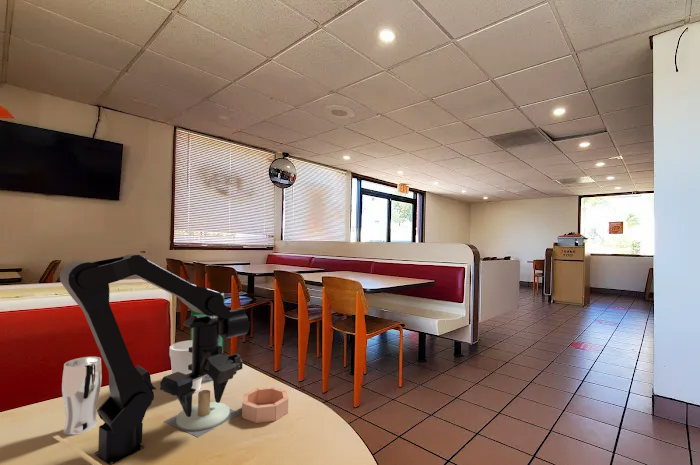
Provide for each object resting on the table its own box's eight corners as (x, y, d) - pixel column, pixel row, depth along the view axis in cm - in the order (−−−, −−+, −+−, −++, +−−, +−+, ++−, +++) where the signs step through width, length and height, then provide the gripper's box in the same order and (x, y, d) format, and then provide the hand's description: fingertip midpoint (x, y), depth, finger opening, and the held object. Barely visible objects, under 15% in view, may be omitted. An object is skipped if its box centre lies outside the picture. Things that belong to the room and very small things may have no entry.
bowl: (265, 429, 78) (266, 411, 78) (232, 416, 84) (232, 399, 84) (296, 409, 88) (296, 393, 88) (264, 398, 93) (264, 383, 93)
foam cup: (212, 386, 100) (213, 341, 100) (194, 401, 91) (196, 351, 91) (180, 384, 101) (182, 339, 101) (160, 398, 92) (162, 349, 92)
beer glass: (106, 427, 78) (108, 360, 78) (68, 442, 72) (71, 369, 72) (91, 418, 81) (93, 354, 82) (54, 432, 75) (56, 363, 76)
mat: (197, 439, 74) (197, 437, 74) (163, 423, 80) (163, 421, 80) (241, 415, 84) (241, 413, 84) (208, 402, 90) (208, 400, 90)
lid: (198, 436, 74) (198, 409, 74) (165, 421, 80) (166, 395, 80) (239, 413, 84) (240, 389, 84) (208, 400, 90) (208, 378, 90)
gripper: (192, 361, 70) (190, 439, 70) (259, 338, 86) (257, 402, 86) (159, 351, 76) (157, 423, 75) (228, 332, 92) (226, 391, 92)
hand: (203, 409), depth 82 cm, fingers open, 8 cm apart
